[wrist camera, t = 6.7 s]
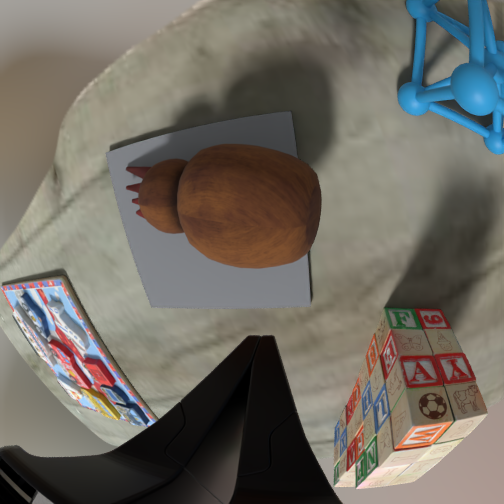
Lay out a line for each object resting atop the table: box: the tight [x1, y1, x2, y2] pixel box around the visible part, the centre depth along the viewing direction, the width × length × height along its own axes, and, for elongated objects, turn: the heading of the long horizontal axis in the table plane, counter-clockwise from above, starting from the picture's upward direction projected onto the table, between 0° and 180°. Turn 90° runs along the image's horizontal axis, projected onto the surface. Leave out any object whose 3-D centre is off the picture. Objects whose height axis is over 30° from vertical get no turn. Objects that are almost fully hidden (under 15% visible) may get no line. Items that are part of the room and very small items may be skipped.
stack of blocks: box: [334, 307, 488, 489], centre depth 21 cm, size 21×6×12 cm, turn 0°
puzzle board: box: [1, 275, 158, 427], centre depth 36 cm, size 30×23×3 cm
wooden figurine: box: [126, 144, 321, 269], centre depth 17 cm, size 7×6×15 cm
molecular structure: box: [398, 0, 504, 154], centre depth 8 cm, size 10×10×10 cm
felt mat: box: [106, 111, 311, 309], centre depth 21 cm, size 15×15×1 cm
